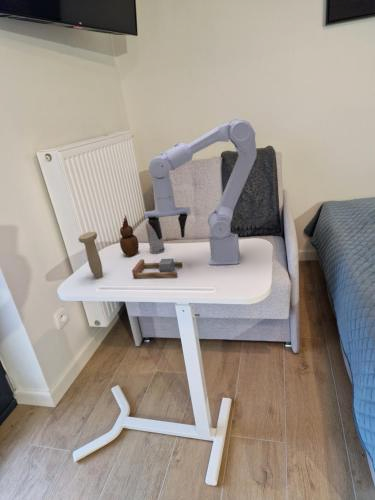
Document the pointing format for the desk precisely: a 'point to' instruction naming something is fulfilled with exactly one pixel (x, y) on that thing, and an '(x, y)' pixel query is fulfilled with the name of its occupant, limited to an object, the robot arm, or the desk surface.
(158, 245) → the energy drink
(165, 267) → the grey cube
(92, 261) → the handle
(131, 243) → the wooden figurine
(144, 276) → the channel
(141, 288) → the desk surface
